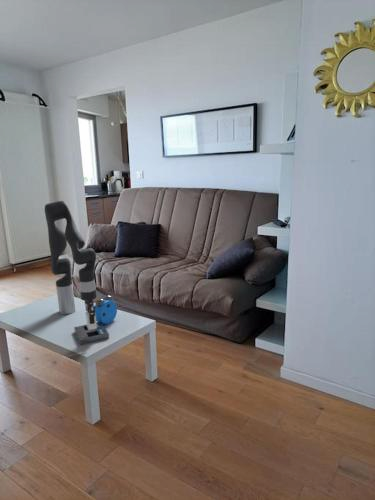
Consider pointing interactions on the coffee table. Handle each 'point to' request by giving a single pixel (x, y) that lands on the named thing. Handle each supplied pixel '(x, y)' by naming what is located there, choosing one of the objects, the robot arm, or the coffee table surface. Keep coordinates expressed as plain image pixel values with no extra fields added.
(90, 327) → the plug
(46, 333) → the coffee table surface
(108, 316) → the alarm clock
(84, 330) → the panel
